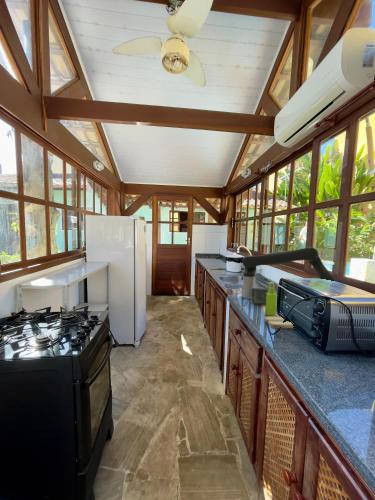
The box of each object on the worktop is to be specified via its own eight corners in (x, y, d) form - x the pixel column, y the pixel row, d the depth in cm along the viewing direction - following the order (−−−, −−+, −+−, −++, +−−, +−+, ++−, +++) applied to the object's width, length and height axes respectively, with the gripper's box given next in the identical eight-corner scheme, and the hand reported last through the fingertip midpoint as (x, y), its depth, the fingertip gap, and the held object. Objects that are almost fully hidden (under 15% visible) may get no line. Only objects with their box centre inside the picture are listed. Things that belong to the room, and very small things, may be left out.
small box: (266, 302, 165) (266, 288, 164) (268, 304, 158) (268, 290, 157) (251, 301, 166) (251, 287, 165) (253, 304, 159) (253, 289, 158)
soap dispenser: (275, 312, 143) (276, 281, 141) (276, 316, 136) (277, 284, 135) (265, 311, 145) (266, 281, 143) (265, 315, 138) (266, 283, 137)
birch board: (264, 319, 131) (264, 316, 131) (284, 319, 131) (284, 316, 131) (272, 328, 119) (272, 324, 119) (294, 328, 119) (294, 324, 119)
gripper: (307, 288, 147) (282, 288, 147) (320, 294, 133) (293, 294, 133) (306, 299, 147) (282, 299, 147) (319, 306, 133) (292, 306, 133)
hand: (287, 296), depth 140 cm, fingers open, 8 cm apart
